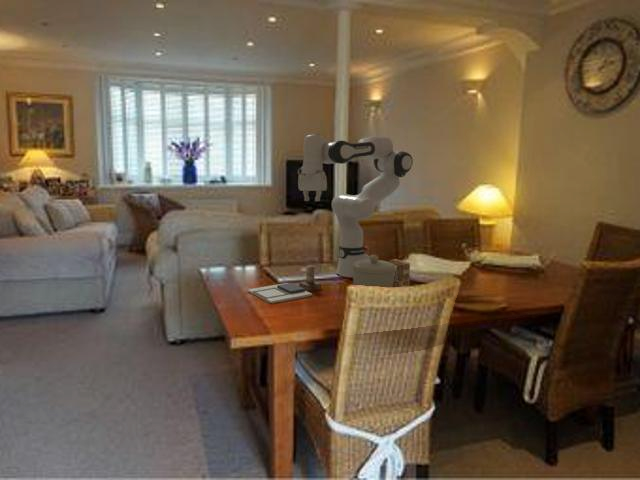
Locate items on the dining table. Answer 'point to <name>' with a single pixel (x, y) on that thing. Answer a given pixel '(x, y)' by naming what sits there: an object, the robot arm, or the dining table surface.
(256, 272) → the dining table surface
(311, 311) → the dining table surface
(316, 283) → the stamp
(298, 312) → the dining table surface
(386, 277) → the canister
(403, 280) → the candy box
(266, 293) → the stamp board
